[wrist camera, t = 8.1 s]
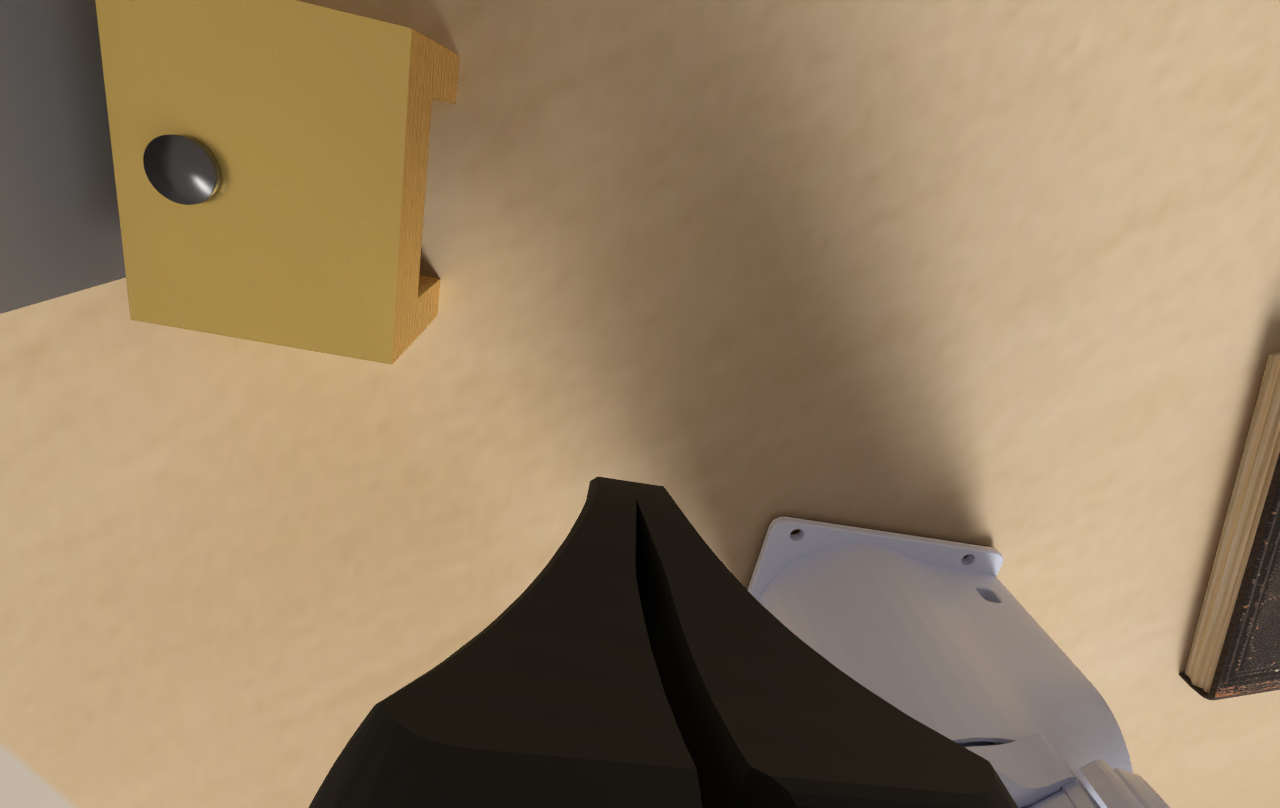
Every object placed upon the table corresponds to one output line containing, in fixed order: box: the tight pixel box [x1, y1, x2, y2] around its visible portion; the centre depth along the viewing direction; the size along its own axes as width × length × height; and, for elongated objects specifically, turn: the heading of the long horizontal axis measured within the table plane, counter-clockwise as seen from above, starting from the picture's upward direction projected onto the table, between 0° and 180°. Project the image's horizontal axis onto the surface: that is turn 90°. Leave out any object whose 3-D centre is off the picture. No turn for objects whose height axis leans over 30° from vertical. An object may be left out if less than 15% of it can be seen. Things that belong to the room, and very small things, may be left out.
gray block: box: [0, 0, 126, 313], centre depth 14 cm, size 8×7×7 cm
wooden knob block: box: [95, 0, 460, 364], centre depth 16 cm, size 6×7×5 cm
